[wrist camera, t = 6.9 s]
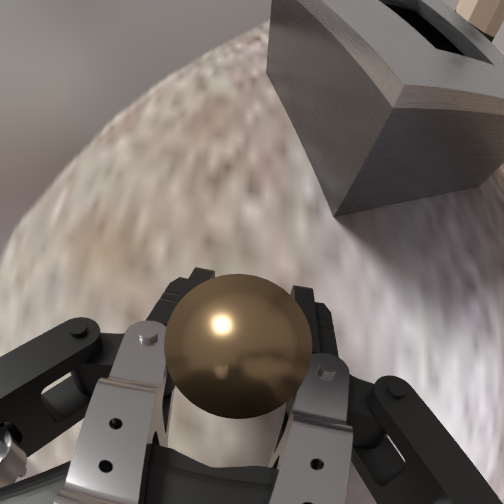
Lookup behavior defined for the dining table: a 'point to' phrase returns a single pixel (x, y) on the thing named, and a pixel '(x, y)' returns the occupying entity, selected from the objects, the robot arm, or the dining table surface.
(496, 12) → the wine bottle
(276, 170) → the dining table surface
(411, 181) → the box
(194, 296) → the brown glossy cylinder
